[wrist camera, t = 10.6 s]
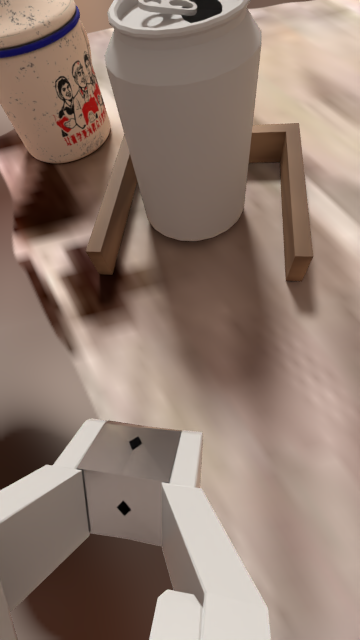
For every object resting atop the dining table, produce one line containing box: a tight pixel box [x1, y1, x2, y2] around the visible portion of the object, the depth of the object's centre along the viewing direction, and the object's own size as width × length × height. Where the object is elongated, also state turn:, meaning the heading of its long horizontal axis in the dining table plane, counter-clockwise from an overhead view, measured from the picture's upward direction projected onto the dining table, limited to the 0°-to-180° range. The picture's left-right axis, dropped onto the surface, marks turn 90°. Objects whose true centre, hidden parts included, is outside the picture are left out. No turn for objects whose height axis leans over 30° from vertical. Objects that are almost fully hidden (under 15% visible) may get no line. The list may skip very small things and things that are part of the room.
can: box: [105, 0, 261, 241], centre depth 18 cm, size 8×8×12 cm
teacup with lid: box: [0, 0, 110, 163], centre depth 25 cm, size 12×9×12 cm
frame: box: [86, 123, 313, 281], centre depth 22 cm, size 14×13×2 cm
